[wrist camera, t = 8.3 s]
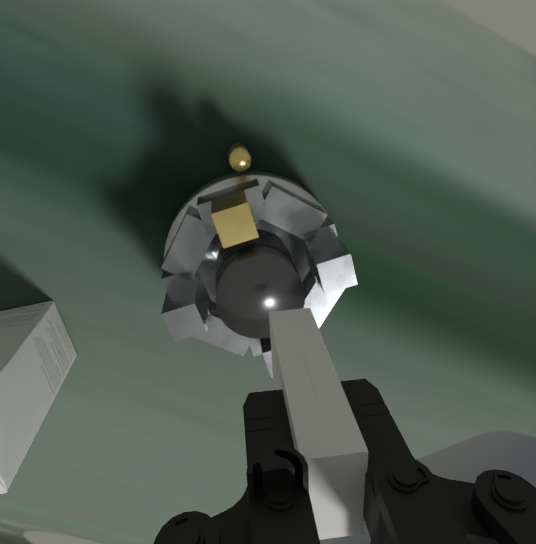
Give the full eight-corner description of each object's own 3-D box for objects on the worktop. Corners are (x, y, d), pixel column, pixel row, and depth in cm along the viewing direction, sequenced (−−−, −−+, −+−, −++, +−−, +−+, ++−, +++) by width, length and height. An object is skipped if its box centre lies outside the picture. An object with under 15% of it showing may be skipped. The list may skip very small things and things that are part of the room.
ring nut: (141, 215, 33) (126, 241, 27) (313, 159, 33) (332, 175, 27) (204, 355, 39) (202, 399, 33) (350, 309, 38) (371, 346, 33)
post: (250, 147, 34) (254, 154, 31) (243, 165, 35) (246, 175, 31) (232, 139, 34) (234, 145, 30) (225, 158, 35) (226, 166, 31)
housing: (361, 209, 38) (401, 244, 29) (291, 343, 43) (308, 405, 34) (201, 141, 34) (196, 159, 26) (145, 297, 39) (125, 354, 31)
